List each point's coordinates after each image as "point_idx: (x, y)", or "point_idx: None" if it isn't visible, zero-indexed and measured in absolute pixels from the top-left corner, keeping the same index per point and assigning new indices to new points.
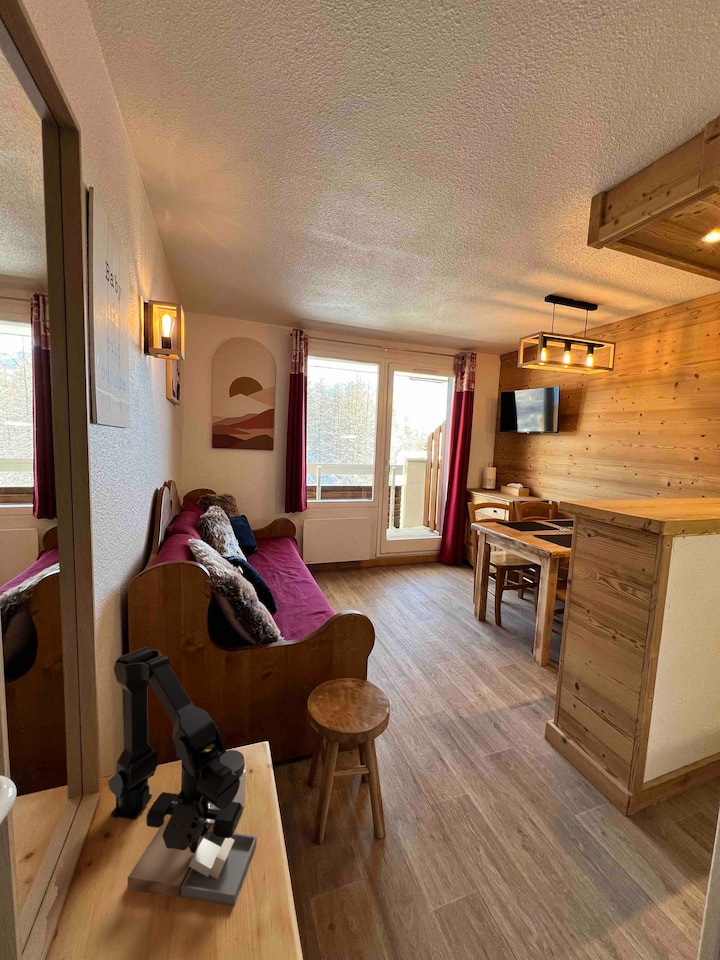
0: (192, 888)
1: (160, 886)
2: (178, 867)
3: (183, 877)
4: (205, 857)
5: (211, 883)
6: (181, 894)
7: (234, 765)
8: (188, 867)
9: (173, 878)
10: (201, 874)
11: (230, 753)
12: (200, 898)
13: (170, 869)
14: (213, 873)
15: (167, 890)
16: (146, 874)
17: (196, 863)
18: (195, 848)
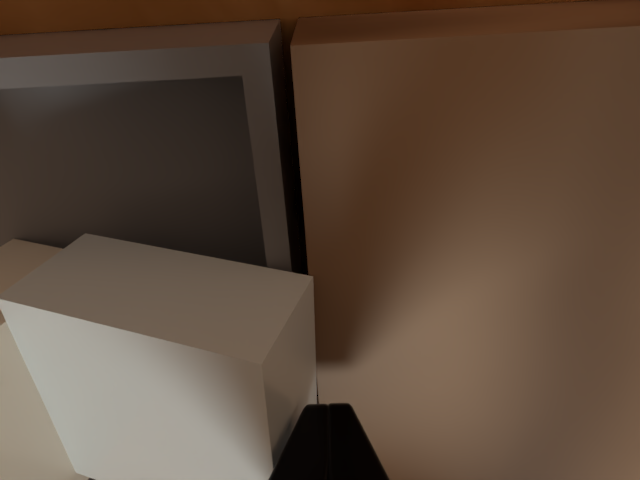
0: (87, 53)
1: (583, 18)
2: (440, 246)
3: (302, 154)
4: (127, 390)
5: (40, 196)
6: (270, 24)
7: None
8: (312, 267)
9: (437, 115)
10: (198, 247)
11: None
12: (26, 35)
13: (536, 210)
14: (33, 268)
15: (465, 18)
16: None
17: (198, 318)
18: (282, 471)
